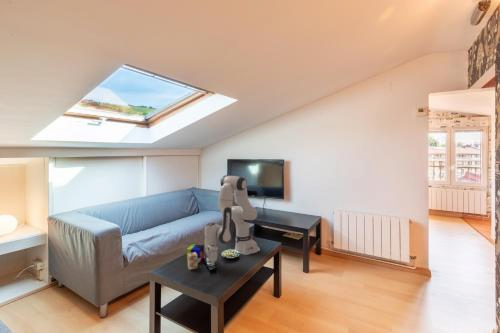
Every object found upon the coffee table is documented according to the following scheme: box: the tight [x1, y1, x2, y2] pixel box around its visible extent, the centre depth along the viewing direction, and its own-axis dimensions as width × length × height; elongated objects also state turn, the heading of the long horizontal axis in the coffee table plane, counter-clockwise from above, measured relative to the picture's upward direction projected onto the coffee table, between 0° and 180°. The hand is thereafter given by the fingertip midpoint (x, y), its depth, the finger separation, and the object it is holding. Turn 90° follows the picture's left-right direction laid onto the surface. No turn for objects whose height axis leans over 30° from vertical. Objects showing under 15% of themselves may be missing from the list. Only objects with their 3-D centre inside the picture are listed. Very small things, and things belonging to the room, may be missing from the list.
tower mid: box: [187, 252, 198, 263], centre depth 188 cm, size 6×6×5 cm
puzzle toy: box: [186, 243, 205, 264], centre depth 202 cm, size 10×10×10 cm
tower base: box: [187, 261, 198, 271], centre depth 188 cm, size 6×6×5 cm
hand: (210, 262), depth 191 cm, fingers open, 8 cm apart
